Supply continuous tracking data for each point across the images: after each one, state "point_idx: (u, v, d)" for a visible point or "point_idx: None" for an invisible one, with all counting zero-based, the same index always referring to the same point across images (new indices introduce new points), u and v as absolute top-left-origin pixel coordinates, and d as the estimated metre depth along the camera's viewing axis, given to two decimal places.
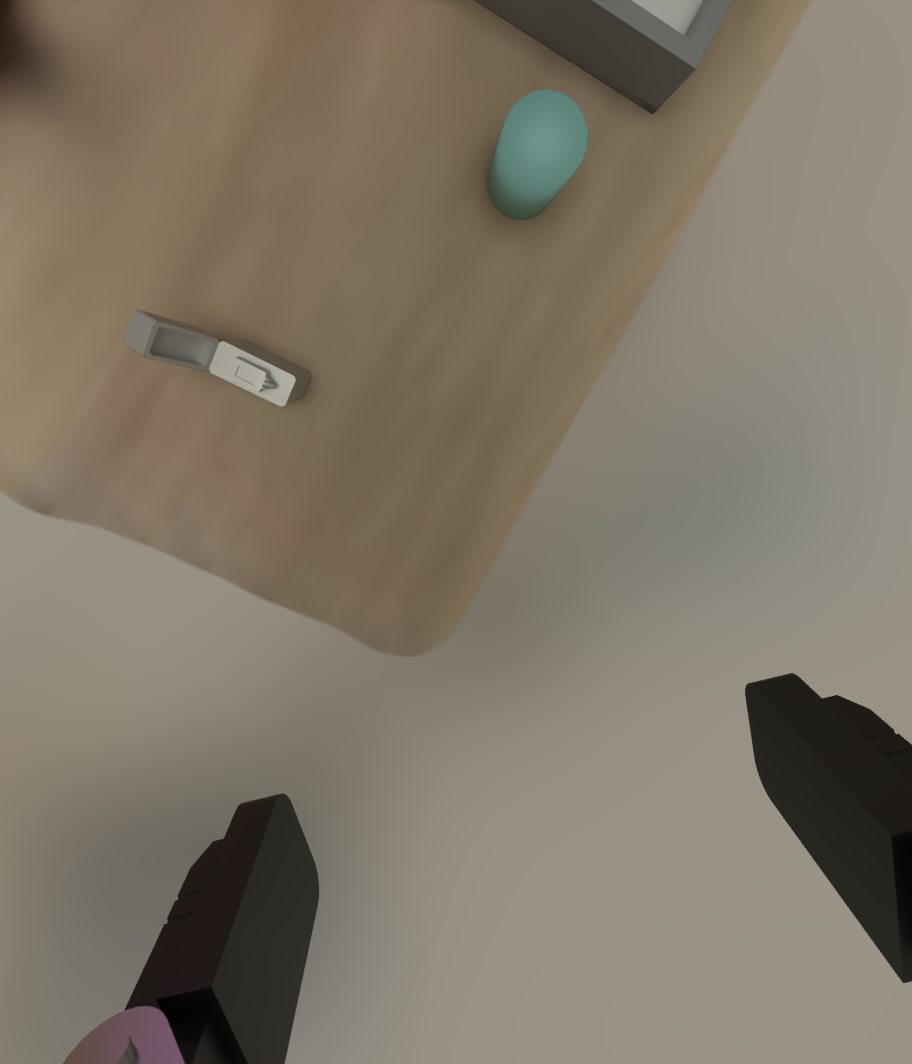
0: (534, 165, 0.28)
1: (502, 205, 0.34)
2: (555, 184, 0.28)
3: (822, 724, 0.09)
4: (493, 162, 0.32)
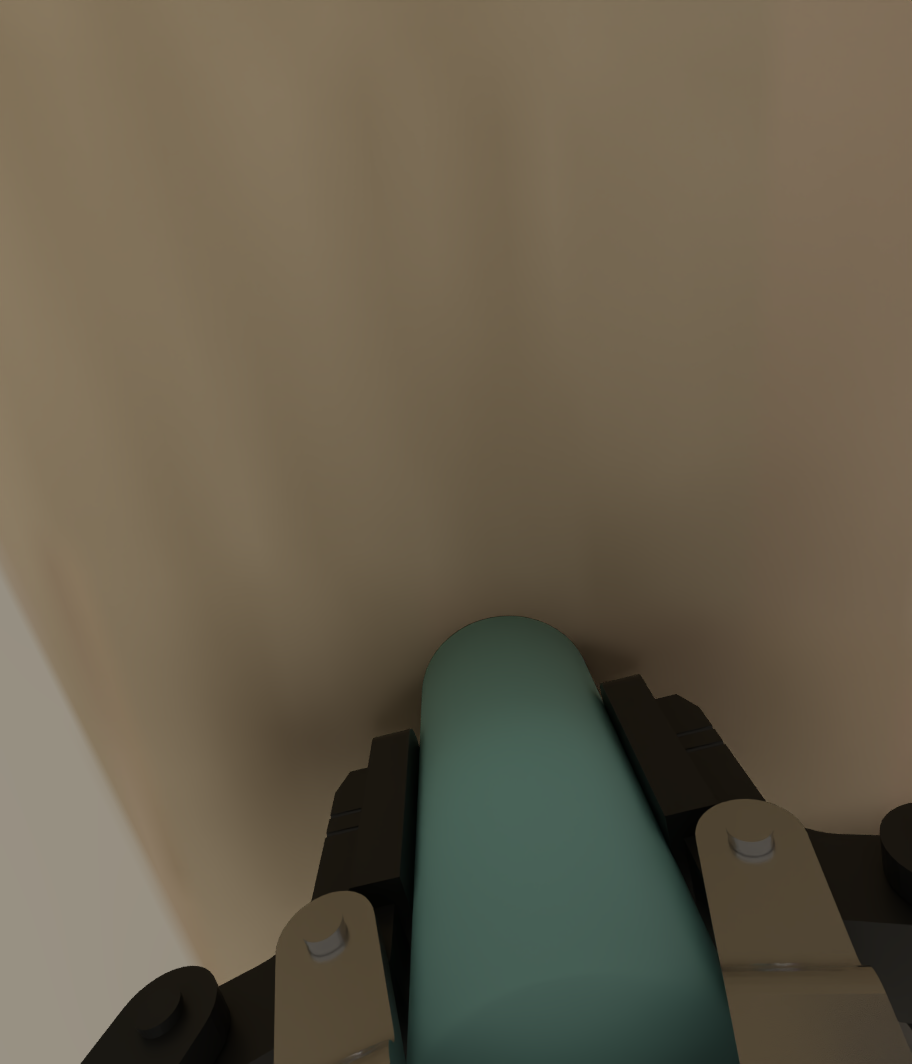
0: (554, 1042, 0.06)
1: (511, 650, 0.12)
2: (431, 1046, 0.06)
3: (645, 720, 0.10)
4: (622, 753, 0.10)
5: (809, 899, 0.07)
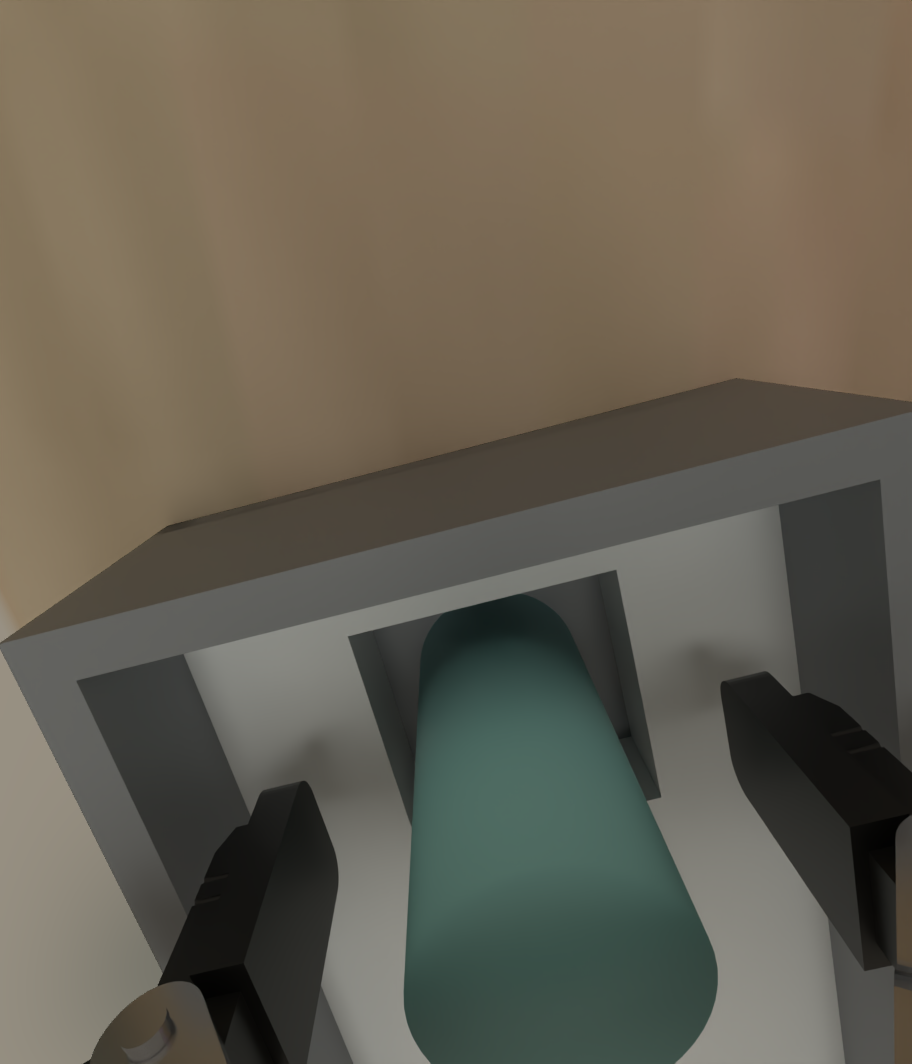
0: (531, 927, 0.07)
1: (502, 619, 0.13)
2: (426, 931, 0.07)
3: (791, 720, 0.09)
4: (600, 707, 0.11)
5: None
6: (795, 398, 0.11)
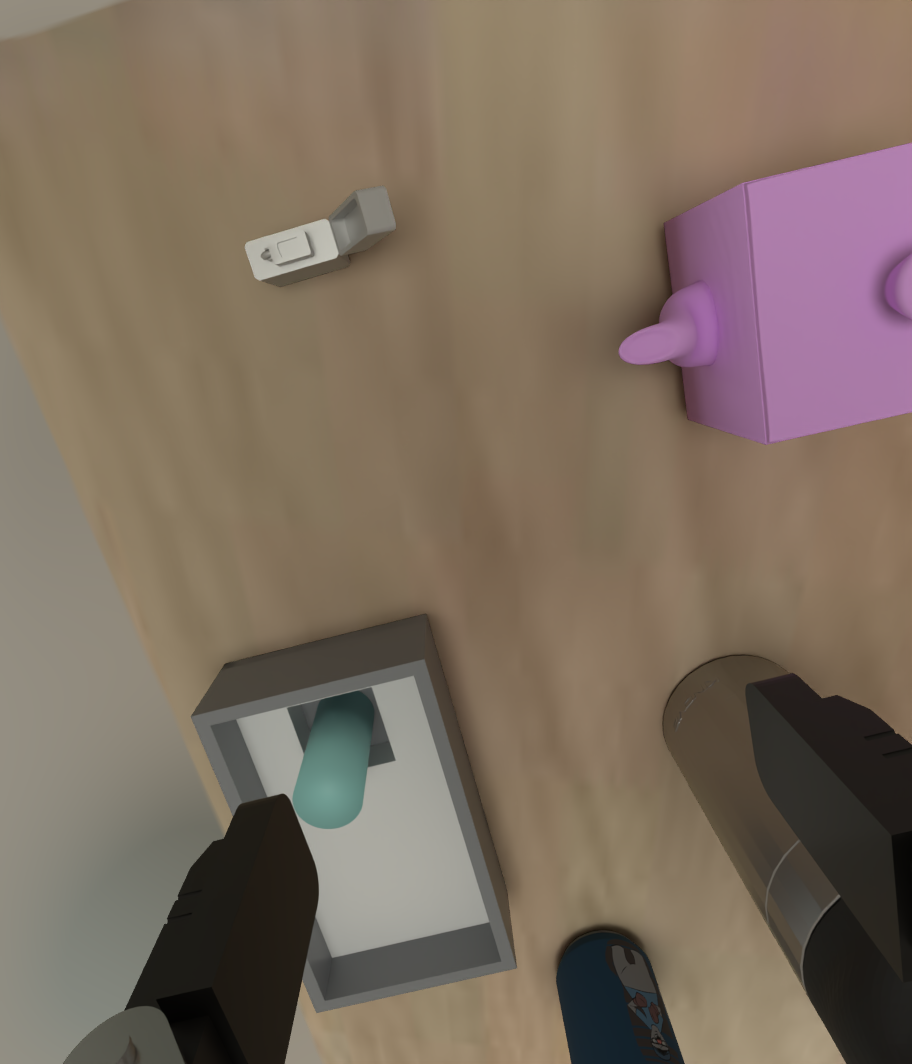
0: (319, 783, 0.34)
1: (340, 701, 0.40)
2: (297, 784, 0.34)
3: (822, 724, 0.09)
4: (361, 732, 0.38)
5: None
6: (416, 640, 0.37)
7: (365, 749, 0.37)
